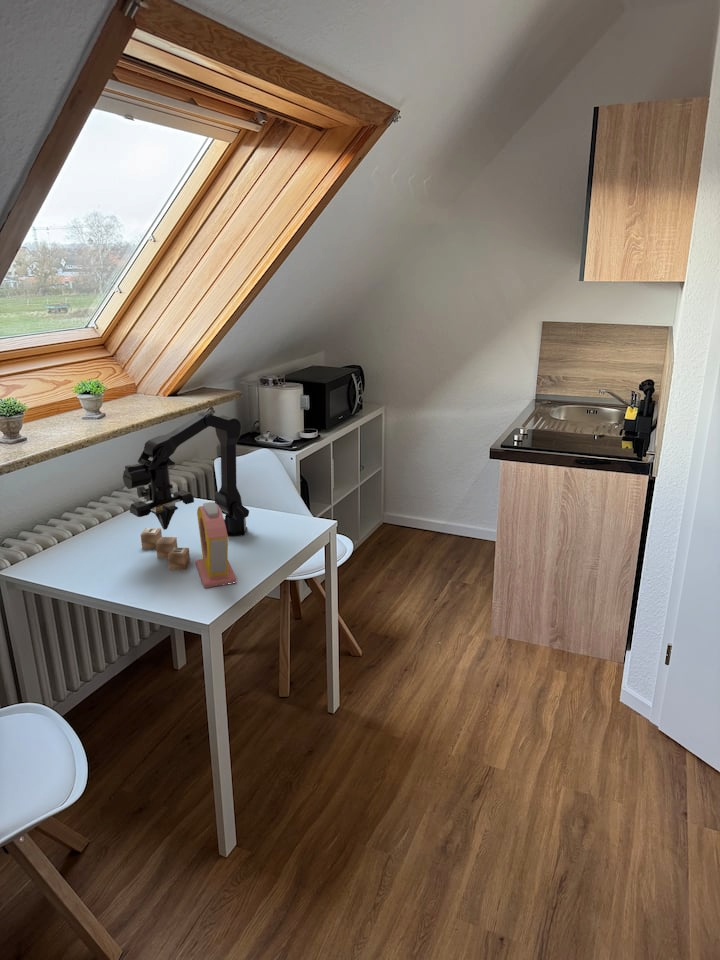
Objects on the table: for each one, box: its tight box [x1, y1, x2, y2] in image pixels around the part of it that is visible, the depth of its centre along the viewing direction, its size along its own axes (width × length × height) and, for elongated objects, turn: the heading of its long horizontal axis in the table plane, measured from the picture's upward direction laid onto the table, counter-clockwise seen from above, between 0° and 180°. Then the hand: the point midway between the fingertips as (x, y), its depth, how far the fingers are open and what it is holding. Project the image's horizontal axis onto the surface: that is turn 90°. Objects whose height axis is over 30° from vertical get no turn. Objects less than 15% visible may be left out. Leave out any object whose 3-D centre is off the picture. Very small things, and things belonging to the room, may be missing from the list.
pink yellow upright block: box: [195, 501, 238, 589], centre depth 200 cm, size 22×9×22 cm, turn 21°
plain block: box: [155, 536, 179, 559], centre depth 215 cm, size 5×5×5 cm
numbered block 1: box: [140, 527, 163, 550], centre depth 222 cm, size 5×5×5 cm
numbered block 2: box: [167, 547, 191, 571], centre depth 207 cm, size 5×5×5 cm
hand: (165, 529), depth 213 cm, fingers closed
